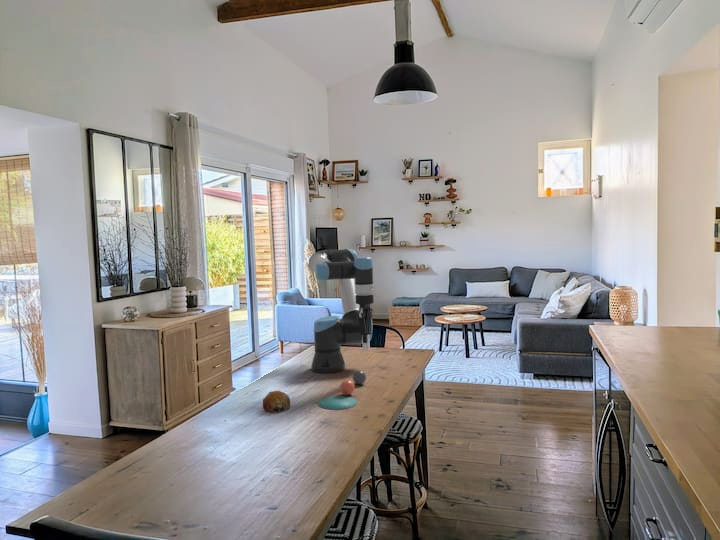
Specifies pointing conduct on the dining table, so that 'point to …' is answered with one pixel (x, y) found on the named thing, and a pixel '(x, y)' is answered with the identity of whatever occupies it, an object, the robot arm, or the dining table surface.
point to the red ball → (347, 387)
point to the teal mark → (337, 402)
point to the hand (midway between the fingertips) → (366, 350)
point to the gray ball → (359, 377)
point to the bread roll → (276, 402)
